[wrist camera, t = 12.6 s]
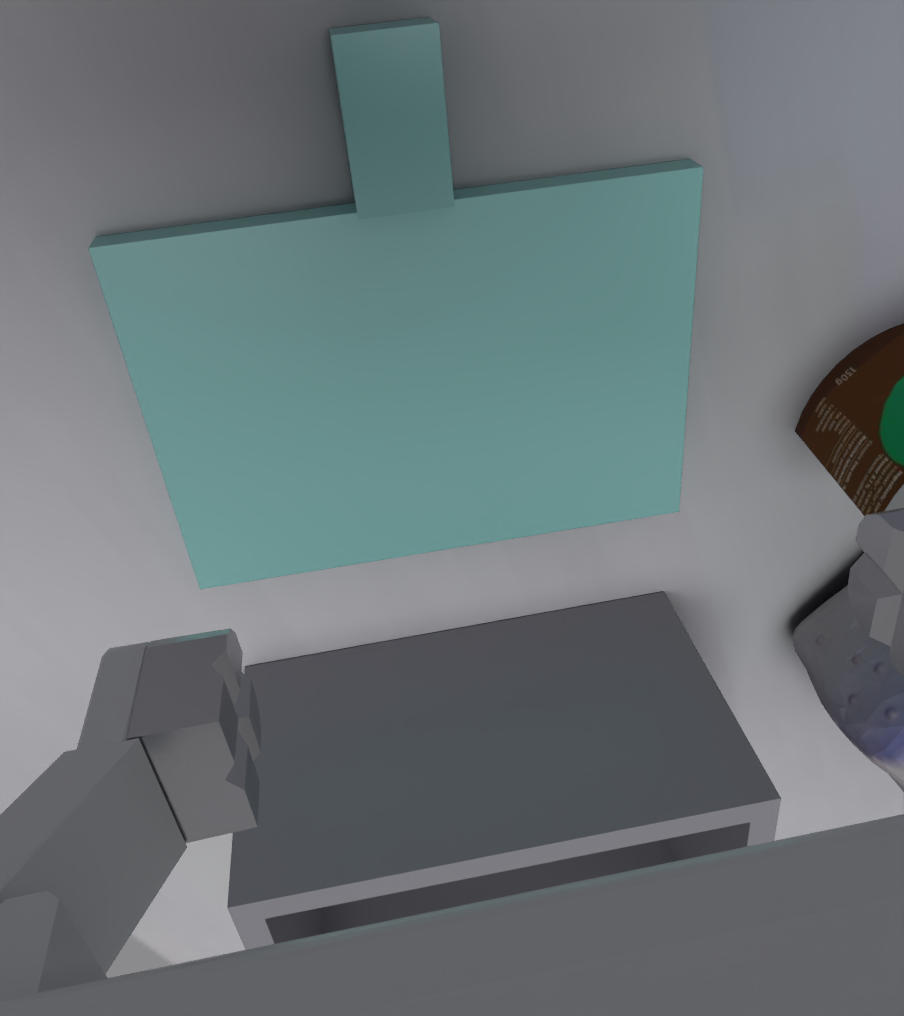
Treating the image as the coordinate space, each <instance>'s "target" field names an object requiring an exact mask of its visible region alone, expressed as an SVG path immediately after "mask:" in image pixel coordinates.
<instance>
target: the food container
mask: <svg viewBox="0 0 904 1016" xmlns="http://www.w3.org/2000/svg"><path fill="white" fill-rule="evenodd" d="M795 432H796V433H797V434H798V435H799V437H800V438H801V439H802V440H803V442H804V443H805V444H806V445H807V446H808V448H809V449H810V450H811V451H812V453H813V454H814V455H815V456H816V457H817V459H818V460H819V461H820V462H821V464H822V465H823V466H824V467H825V468H826V470H827V471H828V472H829V473H830V475H831V476H832V477H833V478H834V479H835V481H836V482H837V483H838V484H839V486H840V487H841V488H842V489H843V490H844V492H845V493H846V494H847V495H848V497H849V498H850V499H851V500H852V501H853V503H854V504H855V505H856V506H857V508H858V509H859V510H860V511H861V512H862V514H863V515H864V516H865V515H867V514H873V513H878V512H883V511H889V510H894V509H900V508H904V324H901V325H899V326H896V327H893V328H891V329H888V330H886V331H884V332H882V333H880V334H878V335H876V336H875V337H873V338H871V339H869V340H868V341H866V342H865V343H863V344H862V345H860V346H859V347H858V348H856V349H855V350H853V351H852V352H851V353H850V354H848V355H847V356H846V357H845V358H844V359H843V360H842V361H840V362H839V363H838V364H837V365H836V366H835V367H834V368H833V369H832V371H831V372H830V373H829V374H828V375H827V376H826V377H825V378H824V379H823V381H822V382H821V383H820V385H819V386H818V387H817V389H816V390H815V392H814V393H813V394H812V396H811V397H810V399H809V401H808V403H807V405H806V406H805V408H804V410H803V412H802V414H801V417H800V419H799V422H798V424H797V427H796V429H795Z"/></svg>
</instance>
